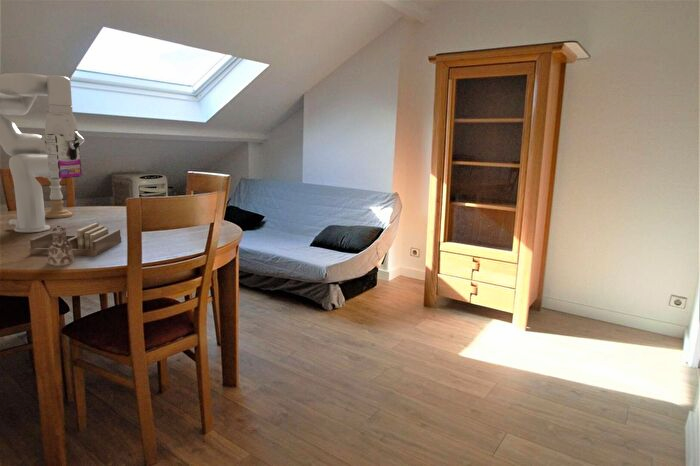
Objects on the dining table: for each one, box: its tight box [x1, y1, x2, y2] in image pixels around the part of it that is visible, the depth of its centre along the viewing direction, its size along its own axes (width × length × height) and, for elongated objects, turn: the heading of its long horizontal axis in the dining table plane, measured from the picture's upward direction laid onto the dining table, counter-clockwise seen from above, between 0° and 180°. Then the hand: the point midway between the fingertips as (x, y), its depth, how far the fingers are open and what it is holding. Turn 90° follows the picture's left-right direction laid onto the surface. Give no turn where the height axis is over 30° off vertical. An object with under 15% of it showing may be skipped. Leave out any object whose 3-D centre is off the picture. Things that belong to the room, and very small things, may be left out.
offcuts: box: [76, 222, 109, 250], centre depth 172 cm, size 5×14×8 cm, turn 5°
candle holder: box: [41, 176, 73, 219], centre depth 225 cm, size 12×12×20 cm
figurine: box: [47, 225, 75, 267], centre depth 152 cm, size 7×7×12 cm
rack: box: [29, 227, 122, 257], centre depth 172 cm, size 22×22×5 cm
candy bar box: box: [44, 133, 83, 180], centre depth 178 cm, size 11×5×16 cm, turn 169°
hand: (64, 158), depth 178 cm, fingers closed on candy bar box, 5 cm apart
